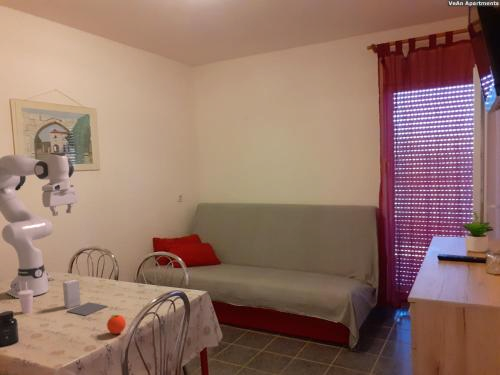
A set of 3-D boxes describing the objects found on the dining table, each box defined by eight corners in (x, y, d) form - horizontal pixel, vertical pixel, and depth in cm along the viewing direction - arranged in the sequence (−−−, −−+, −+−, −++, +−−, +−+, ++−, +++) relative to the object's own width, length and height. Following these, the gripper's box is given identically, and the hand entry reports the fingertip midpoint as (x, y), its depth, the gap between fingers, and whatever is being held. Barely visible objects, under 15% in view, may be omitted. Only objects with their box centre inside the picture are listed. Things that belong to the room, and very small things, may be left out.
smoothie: (38, 310, 181) (36, 280, 180) (26, 315, 175) (24, 285, 174) (28, 309, 183) (25, 280, 182) (15, 314, 177) (13, 284, 176)
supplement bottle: (-6, 350, 142) (-8, 317, 141) (1, 342, 148) (-2, 311, 148) (15, 346, 144) (13, 315, 143) (21, 339, 150) (18, 308, 150)
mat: (66, 311, 178) (66, 310, 178) (89, 303, 188) (88, 302, 188) (85, 316, 171) (85, 315, 171) (107, 306, 182) (107, 305, 182)
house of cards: (59, 276, 240) (58, 264, 239) (49, 281, 231) (48, 268, 231) (46, 276, 241) (45, 264, 241) (36, 281, 233) (35, 268, 232)
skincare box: (76, 303, 189) (75, 278, 188) (81, 305, 186) (79, 280, 185) (63, 307, 184) (62, 282, 183) (68, 309, 181) (66, 283, 180)
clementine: (103, 332, 153) (102, 314, 152) (120, 327, 158) (118, 309, 157) (112, 338, 147) (111, 320, 147) (129, 332, 152) (128, 314, 152)
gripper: (69, 184, 199) (71, 211, 200) (38, 187, 180) (41, 217, 180) (79, 184, 198) (81, 211, 199) (50, 187, 178) (52, 217, 179)
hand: (62, 214), depth 189 cm, fingers open, 8 cm apart
